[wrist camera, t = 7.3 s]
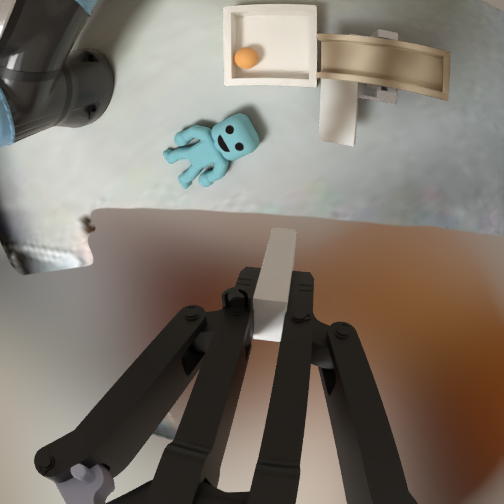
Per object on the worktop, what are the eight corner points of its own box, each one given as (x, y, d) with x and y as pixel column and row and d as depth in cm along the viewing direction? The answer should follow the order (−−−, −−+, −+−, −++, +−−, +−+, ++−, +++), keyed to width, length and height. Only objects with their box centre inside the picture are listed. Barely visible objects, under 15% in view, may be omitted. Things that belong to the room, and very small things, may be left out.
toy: (151, 149, 41) (227, 100, 33) (167, 141, 44) (240, 97, 37) (182, 201, 45) (263, 164, 37) (196, 188, 48) (272, 154, 41)
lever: (320, 139, 34) (313, 142, 32) (323, 37, 26) (316, 33, 24) (436, 165, 27) (438, 170, 25) (447, 55, 20) (449, 52, 18)
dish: (231, 85, 36) (224, 85, 33) (230, 12, 30) (223, 6, 27) (315, 87, 34) (316, 87, 31) (315, 11, 28) (316, 5, 25)
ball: (262, 68, 32) (253, 69, 34) (262, 46, 30) (252, 49, 33) (239, 68, 31) (231, 69, 33) (238, 45, 29) (231, 48, 32)
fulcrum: (347, 96, 34) (357, 98, 27) (348, 34, 29) (358, 22, 22) (417, 108, 32) (440, 115, 25) (420, 49, 27) (443, 43, 20)
